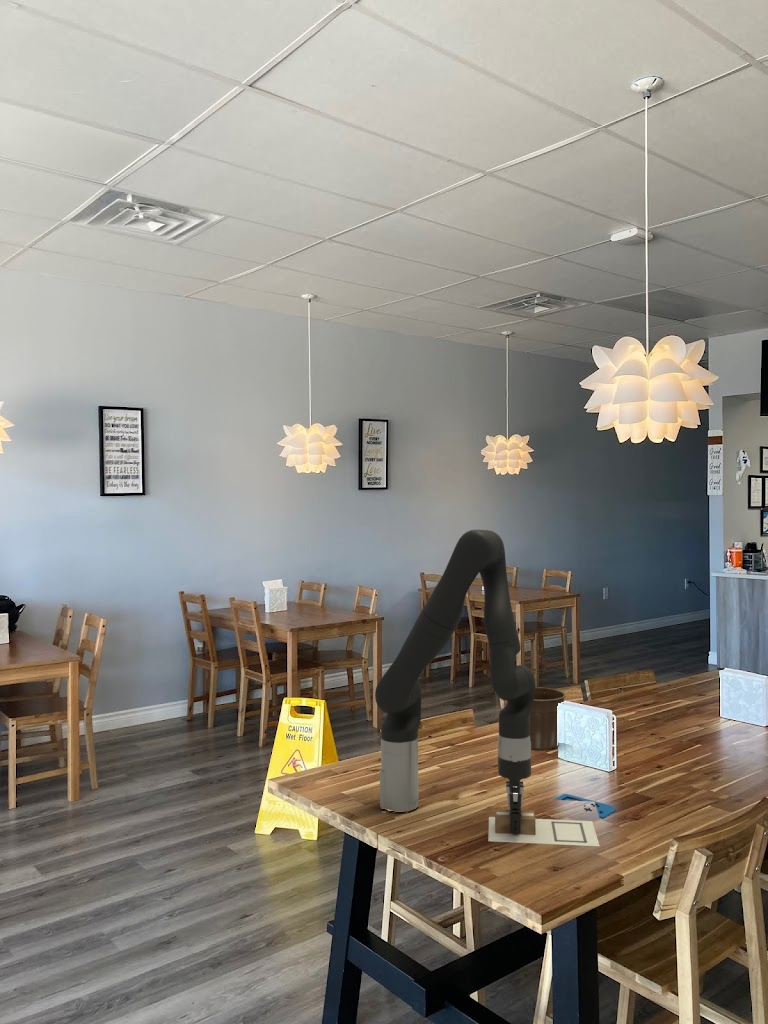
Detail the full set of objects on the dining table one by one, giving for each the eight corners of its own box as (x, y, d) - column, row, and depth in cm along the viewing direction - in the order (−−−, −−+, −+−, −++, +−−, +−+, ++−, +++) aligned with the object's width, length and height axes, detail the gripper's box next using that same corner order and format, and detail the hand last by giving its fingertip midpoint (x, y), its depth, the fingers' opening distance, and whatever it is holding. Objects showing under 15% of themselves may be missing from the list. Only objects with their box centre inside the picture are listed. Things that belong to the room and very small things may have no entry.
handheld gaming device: (603, 816, 193) (547, 801, 203) (603, 820, 193) (547, 805, 203) (619, 806, 199) (564, 792, 209) (619, 810, 199) (564, 796, 209)
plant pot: (570, 752, 245) (570, 699, 244) (516, 752, 245) (516, 699, 245) (560, 737, 261) (559, 687, 261) (509, 737, 261) (509, 687, 261)
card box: (495, 833, 184) (495, 817, 184) (495, 824, 189) (495, 808, 189) (535, 834, 183) (535, 818, 183) (534, 826, 188) (534, 810, 188)
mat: (488, 843, 180) (488, 840, 180) (488, 818, 194) (488, 816, 194) (599, 848, 177) (599, 845, 177) (592, 823, 191) (592, 820, 191)
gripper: (497, 744, 194) (498, 815, 194) (497, 763, 180) (498, 840, 180) (529, 745, 193) (530, 816, 193) (532, 764, 178) (533, 841, 179)
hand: (515, 827), depth 186 cm, fingers open, 5 cm apart
